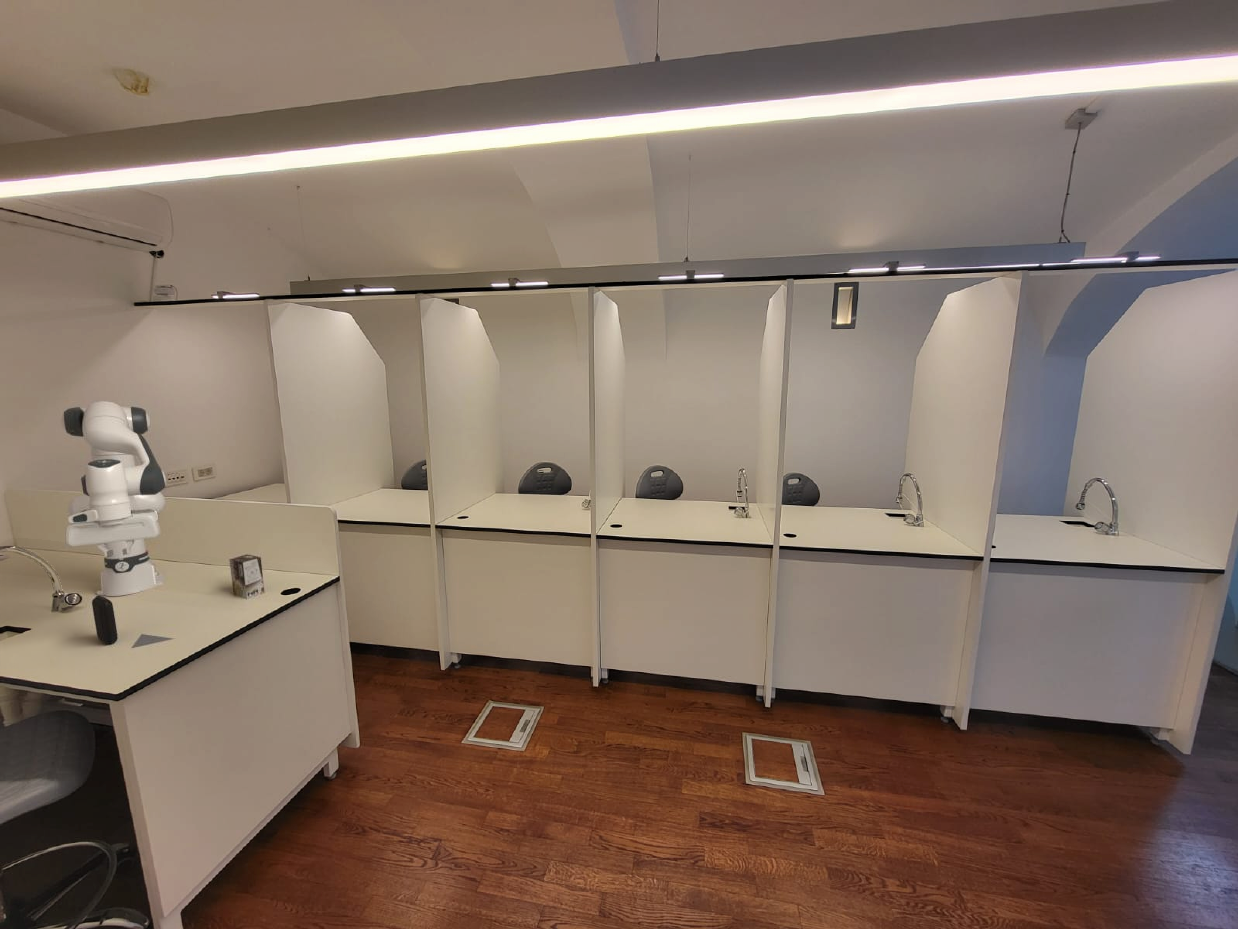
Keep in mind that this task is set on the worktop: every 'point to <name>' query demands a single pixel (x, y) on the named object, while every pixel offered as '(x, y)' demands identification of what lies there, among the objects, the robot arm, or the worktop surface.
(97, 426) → the robot arm
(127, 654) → the worktop surface
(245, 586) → the coffee box
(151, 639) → the mat
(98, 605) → the carrying case or bag
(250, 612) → the worktop surface
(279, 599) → the worktop surface
